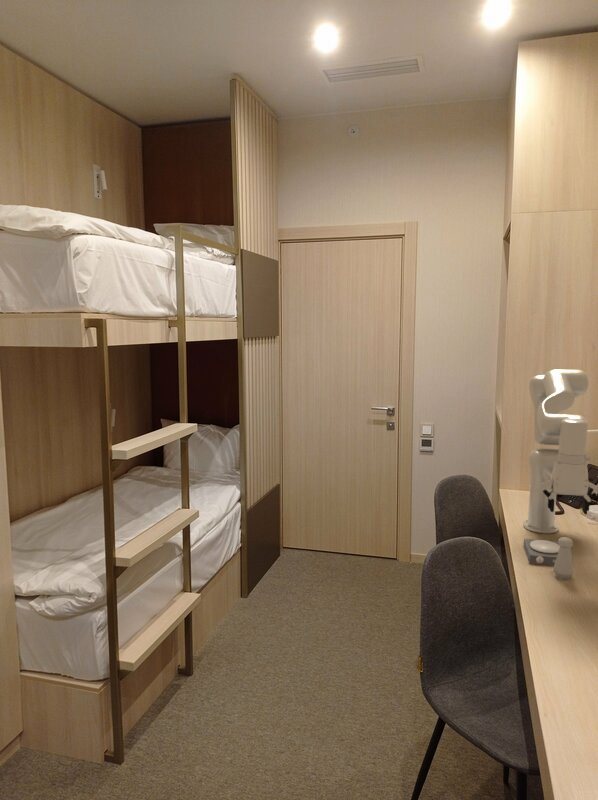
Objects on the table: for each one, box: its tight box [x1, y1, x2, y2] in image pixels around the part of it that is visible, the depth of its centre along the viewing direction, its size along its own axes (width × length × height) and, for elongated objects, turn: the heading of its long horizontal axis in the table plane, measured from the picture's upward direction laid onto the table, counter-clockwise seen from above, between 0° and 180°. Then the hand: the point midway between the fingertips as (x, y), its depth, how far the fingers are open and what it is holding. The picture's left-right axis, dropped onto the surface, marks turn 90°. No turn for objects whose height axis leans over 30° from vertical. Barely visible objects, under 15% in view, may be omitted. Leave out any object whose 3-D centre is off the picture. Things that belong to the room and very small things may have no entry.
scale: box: [523, 538, 560, 567], centre depth 201 cm, size 14×12×4 cm
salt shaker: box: [553, 536, 574, 581], centre depth 186 cm, size 6×6×13 cm
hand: (567, 511), depth 183 cm, fingers open, 9 cm apart
